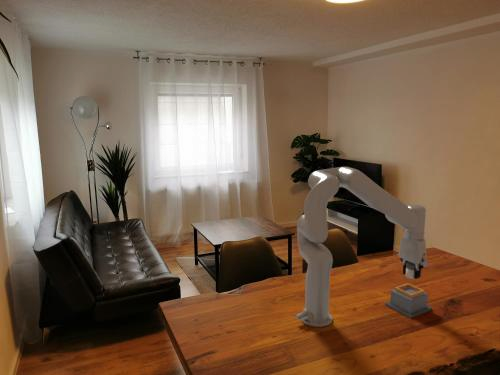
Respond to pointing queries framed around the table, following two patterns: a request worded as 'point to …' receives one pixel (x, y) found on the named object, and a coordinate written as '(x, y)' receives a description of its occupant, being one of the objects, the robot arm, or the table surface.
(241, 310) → the table surface
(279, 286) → the table surface
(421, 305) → the grey square peg holder
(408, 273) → the gray and white capsule
